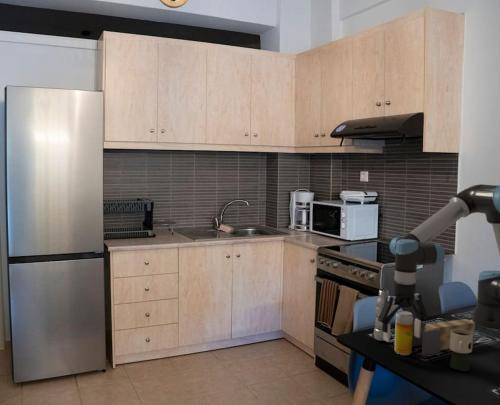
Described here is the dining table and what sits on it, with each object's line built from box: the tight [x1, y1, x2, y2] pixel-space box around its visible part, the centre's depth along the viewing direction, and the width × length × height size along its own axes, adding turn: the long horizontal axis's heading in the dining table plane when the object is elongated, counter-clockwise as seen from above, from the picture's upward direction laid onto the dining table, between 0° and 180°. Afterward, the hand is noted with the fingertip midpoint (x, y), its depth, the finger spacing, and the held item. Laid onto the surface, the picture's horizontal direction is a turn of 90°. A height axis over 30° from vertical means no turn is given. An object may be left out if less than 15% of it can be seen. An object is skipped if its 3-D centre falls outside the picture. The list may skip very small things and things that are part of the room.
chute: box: [412, 321, 443, 357], centre depth 182 cm, size 7×12×9 cm, turn 20°
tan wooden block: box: [424, 318, 476, 351], centre depth 187 cm, size 20×4×9 cm, turn 112°
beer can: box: [394, 310, 414, 356], centre depth 179 cm, size 6×6×15 cm
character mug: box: [449, 329, 473, 372], centre depth 166 cm, size 11×7×13 cm, turn 156°
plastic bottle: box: [373, 288, 392, 342], centre depth 191 cm, size 6×7×20 cm
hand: (401, 338), depth 179 cm, fingers open, 13 cm apart
